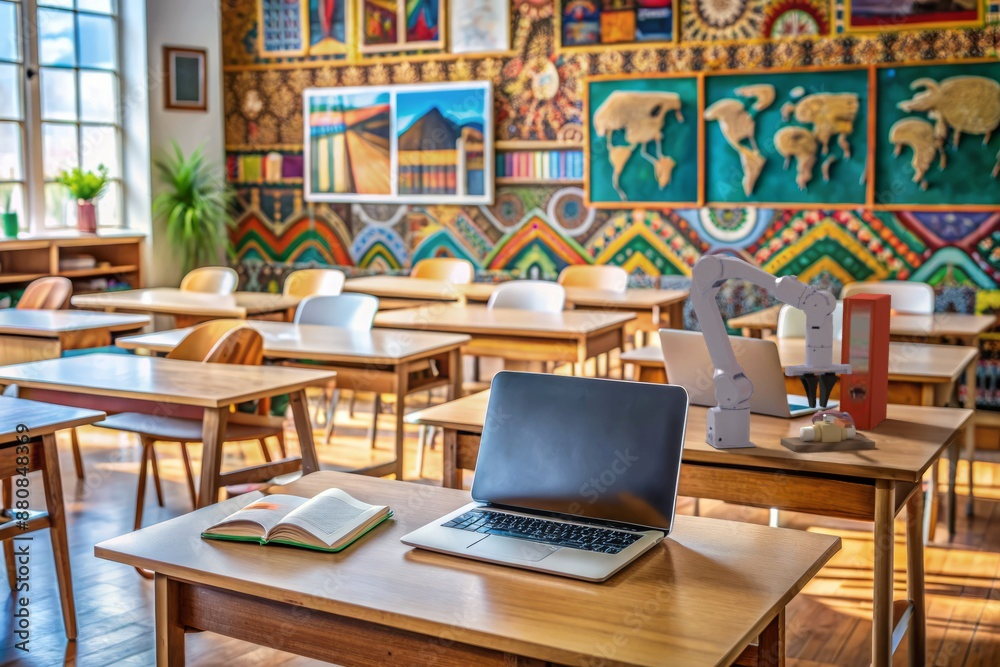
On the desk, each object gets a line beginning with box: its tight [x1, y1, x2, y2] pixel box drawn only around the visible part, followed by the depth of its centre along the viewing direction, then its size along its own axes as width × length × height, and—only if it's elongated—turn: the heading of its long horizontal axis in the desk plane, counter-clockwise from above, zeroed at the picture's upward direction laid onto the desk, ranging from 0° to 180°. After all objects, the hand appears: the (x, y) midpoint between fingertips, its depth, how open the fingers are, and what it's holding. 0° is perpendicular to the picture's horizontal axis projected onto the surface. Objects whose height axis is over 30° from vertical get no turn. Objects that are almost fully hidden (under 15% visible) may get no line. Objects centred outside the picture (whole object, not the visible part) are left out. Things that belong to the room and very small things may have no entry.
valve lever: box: [823, 414, 852, 428], centre depth 241 cm, size 11×2×2 cm, turn 8°
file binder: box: [838, 292, 892, 431], centre depth 271 cm, size 8×17×32 cm, turn 149°
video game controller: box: [811, 409, 855, 427], centre depth 261 cm, size 10×5×7 cm, turn 62°
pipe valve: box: [799, 421, 857, 442], centre depth 246 cm, size 12×4×4 cm, turn 98°
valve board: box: [779, 434, 876, 453], centre depth 246 cm, size 19×8×2 cm, turn 98°
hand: (817, 407), depth 238 cm, fingers closed
